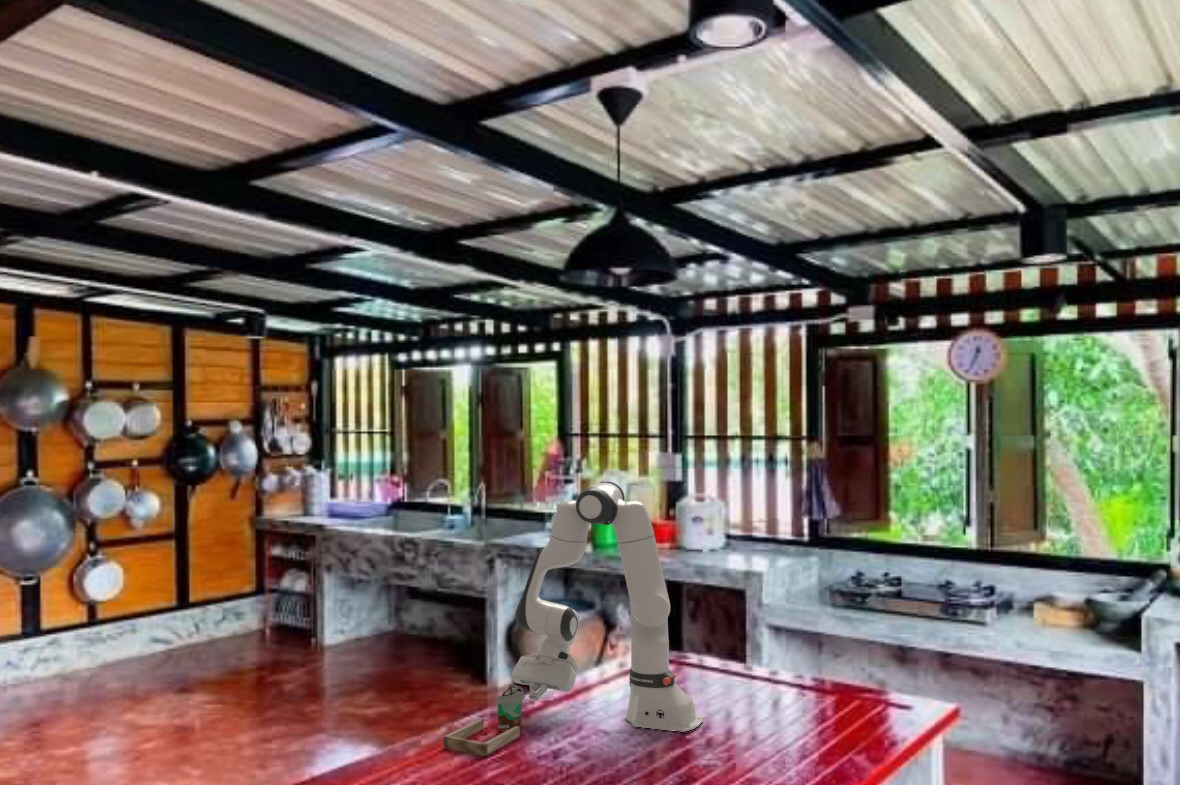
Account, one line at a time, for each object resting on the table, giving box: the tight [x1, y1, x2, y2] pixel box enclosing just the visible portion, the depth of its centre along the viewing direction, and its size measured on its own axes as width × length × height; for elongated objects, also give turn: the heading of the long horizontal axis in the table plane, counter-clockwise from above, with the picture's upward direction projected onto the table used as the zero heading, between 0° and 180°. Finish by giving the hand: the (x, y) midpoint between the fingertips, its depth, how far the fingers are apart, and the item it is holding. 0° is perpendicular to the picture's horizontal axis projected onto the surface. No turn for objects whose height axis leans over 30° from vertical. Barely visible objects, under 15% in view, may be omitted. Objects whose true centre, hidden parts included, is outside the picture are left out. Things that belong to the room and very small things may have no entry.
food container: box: [496, 684, 526, 730], centre depth 258 cm, size 12×6×10 cm, turn 168°
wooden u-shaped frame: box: [443, 718, 521, 757], centre depth 245 cm, size 13×16×3 cm
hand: (533, 698), depth 267 cm, fingers closed
